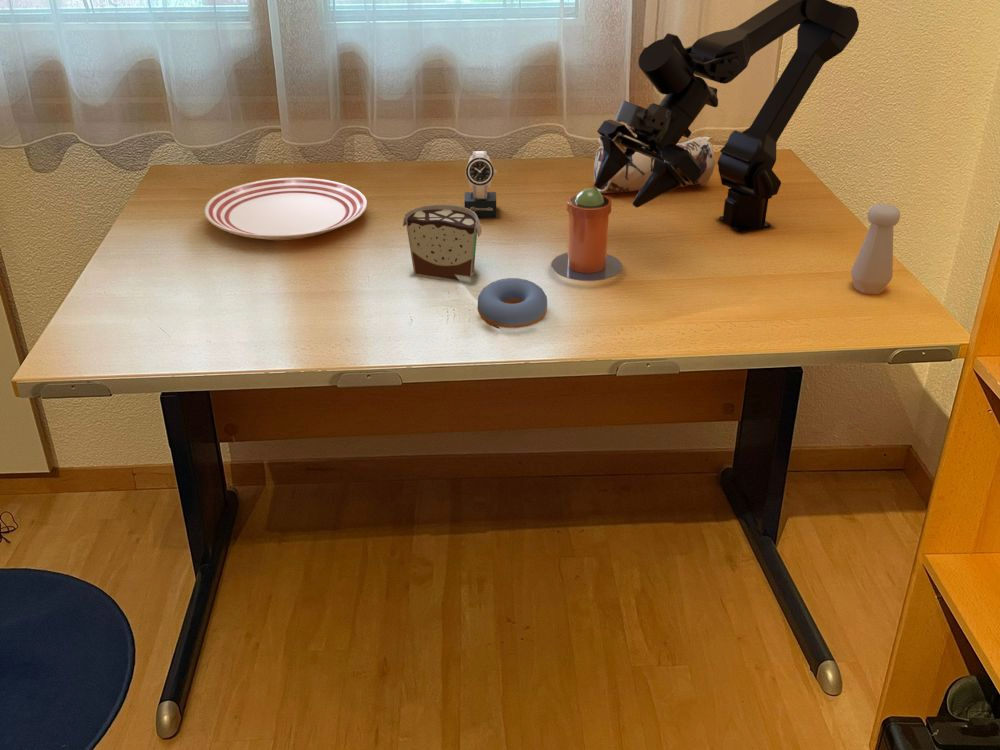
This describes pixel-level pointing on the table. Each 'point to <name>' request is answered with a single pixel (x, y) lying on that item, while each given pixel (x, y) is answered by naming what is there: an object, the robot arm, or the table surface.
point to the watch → (480, 185)
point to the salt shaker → (876, 251)
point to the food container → (442, 240)
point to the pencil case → (642, 165)
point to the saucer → (610, 270)
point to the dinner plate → (285, 208)
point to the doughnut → (512, 303)
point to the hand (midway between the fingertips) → (614, 196)
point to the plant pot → (588, 231)
